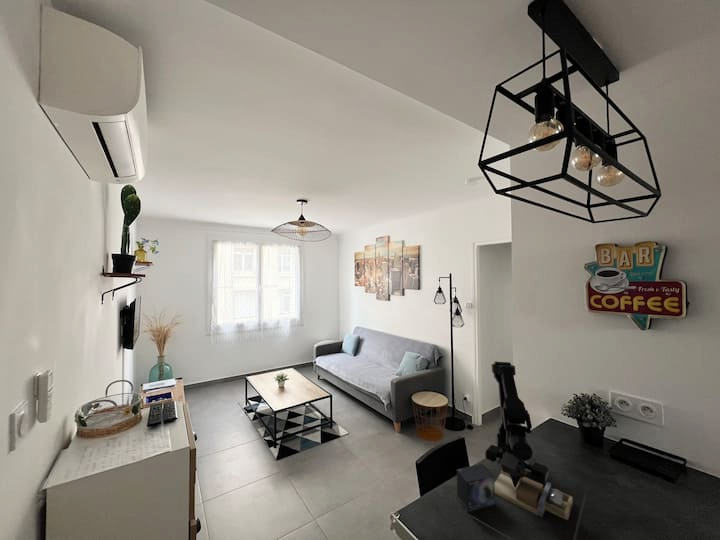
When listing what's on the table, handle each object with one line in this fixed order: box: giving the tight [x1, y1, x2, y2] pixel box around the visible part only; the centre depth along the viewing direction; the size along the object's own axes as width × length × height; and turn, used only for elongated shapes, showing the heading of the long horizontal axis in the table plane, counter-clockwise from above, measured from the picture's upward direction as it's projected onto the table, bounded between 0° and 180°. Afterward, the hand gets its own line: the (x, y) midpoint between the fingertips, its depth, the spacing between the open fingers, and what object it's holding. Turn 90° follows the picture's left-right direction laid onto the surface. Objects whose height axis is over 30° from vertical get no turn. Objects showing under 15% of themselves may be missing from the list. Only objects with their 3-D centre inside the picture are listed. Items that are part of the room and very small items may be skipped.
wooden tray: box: [495, 469, 574, 521], centre depth 98 cm, size 13×22×4 cm, turn 46°
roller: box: [548, 488, 564, 509], centre depth 95 cm, size 4×5×4 cm
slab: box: [516, 476, 544, 509], centre depth 98 cm, size 8×6×4 cm
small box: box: [456, 463, 496, 514], centre depth 97 cm, size 11×6×10 cm, turn 105°
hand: (515, 486), depth 101 cm, fingers closed
